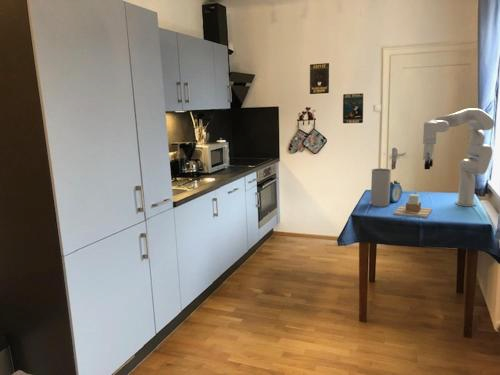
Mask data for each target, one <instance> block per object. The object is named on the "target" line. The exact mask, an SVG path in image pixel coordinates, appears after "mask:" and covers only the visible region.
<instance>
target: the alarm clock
mask: <svg viewBox="0 0 500 375" xmlns="http://www.w3.org/2000/svg"><path fill="white" fill-rule="evenodd" d="M400 183H401V182H399V181H398V180H394V181H390V199H389V202H392V203H398V202H399V201H400V200H401V198H402V194H403V189H402V186H401V184H400Z"/></svg>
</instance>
